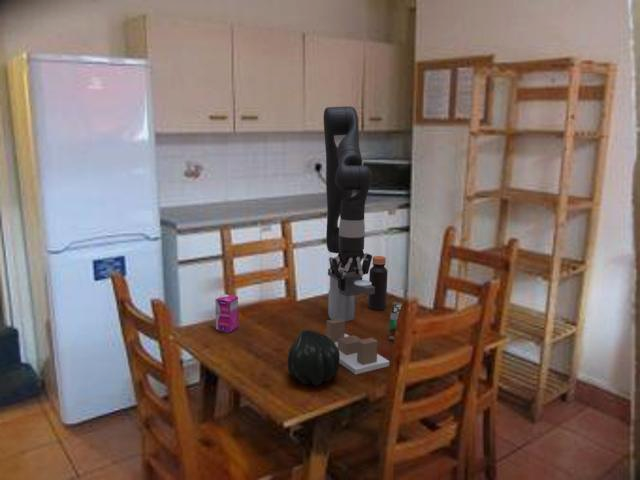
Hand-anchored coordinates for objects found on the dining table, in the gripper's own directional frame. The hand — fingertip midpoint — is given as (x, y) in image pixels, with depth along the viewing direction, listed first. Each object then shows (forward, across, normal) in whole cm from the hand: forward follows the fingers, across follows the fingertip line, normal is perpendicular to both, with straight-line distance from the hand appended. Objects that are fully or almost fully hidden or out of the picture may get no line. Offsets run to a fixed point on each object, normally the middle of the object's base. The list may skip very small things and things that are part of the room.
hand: (349, 288), depth 169 cm
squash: (+21, -17, -10) cm, 29 cm away
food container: (+22, +24, +5) cm, 32 cm away
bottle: (+22, +33, +33) cm, 51 cm away
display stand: (+21, +1, 0) cm, 21 cm away
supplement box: (+22, -26, +36) cm, 50 cm away
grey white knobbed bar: (+1, 0, 0) cm, 1 cm away
